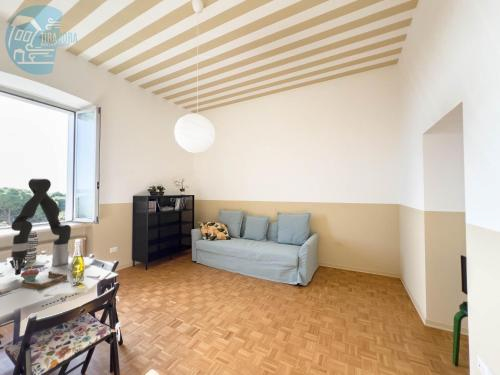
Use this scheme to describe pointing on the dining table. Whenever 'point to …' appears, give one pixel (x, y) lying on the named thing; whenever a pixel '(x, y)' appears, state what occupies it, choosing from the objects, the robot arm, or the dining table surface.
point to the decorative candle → (32, 247)
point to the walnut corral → (40, 286)
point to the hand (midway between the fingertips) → (17, 274)
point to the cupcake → (30, 274)
